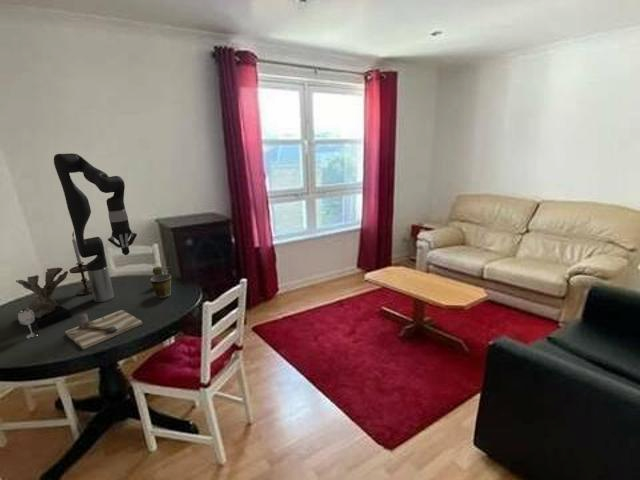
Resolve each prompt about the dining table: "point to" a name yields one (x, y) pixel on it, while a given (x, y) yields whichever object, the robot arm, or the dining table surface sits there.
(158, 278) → the ceramic cup
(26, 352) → the dining table surface
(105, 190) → the robot arm
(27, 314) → the wineglass
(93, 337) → the board
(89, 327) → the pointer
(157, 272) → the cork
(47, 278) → the coral
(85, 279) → the candlestick
